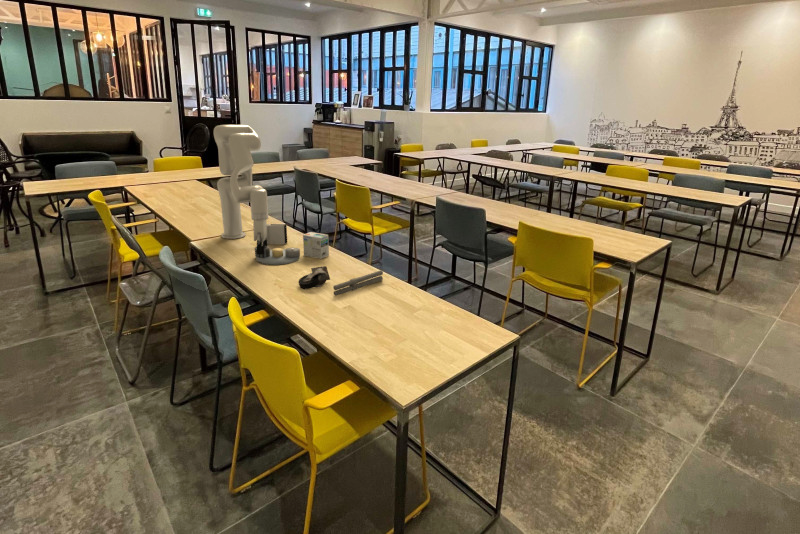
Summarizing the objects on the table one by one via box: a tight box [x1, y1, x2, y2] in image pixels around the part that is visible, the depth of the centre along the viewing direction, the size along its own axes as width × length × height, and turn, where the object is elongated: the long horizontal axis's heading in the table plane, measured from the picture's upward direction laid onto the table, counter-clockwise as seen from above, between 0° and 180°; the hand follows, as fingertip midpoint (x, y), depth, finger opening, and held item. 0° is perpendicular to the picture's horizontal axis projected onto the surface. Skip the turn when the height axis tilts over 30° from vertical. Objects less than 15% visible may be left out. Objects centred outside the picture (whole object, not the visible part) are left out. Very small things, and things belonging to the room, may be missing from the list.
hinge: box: [260, 223, 288, 245], centre depth 239 cm, size 14×5×10 cm, turn 106°
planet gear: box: [254, 245, 271, 258], centre depth 218 cm, size 7×7×4 cm
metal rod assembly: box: [333, 269, 384, 297], centre depth 189 cm, size 26×3×5 cm, turn 136°
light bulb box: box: [302, 231, 330, 260], centre depth 223 cm, size 11×7×11 cm, turn 65°
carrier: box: [255, 247, 301, 266], centre depth 219 cm, size 20×20×4 cm
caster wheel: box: [297, 265, 331, 290], centre depth 189 cm, size 7×11×10 cm
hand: (262, 250), depth 218 cm, fingers open, 9 cm apart
